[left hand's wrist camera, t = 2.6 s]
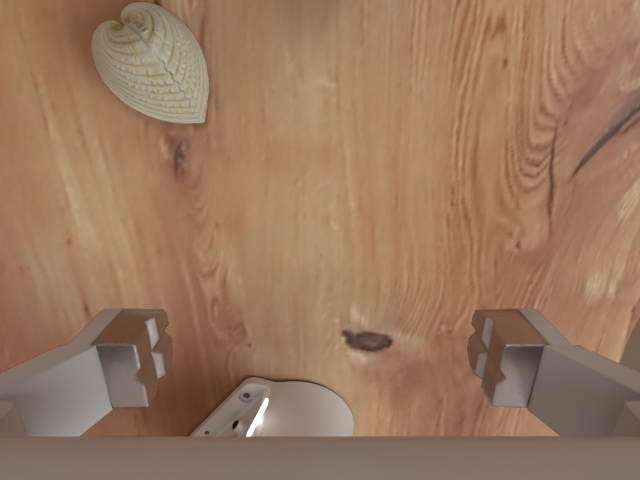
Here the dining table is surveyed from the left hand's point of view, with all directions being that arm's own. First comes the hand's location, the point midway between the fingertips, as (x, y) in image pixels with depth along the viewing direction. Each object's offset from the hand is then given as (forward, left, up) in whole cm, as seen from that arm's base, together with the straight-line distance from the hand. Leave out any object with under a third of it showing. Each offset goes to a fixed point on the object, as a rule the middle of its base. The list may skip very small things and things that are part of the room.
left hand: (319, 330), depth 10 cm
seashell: (-6, +14, -28) cm, 32 cm away
